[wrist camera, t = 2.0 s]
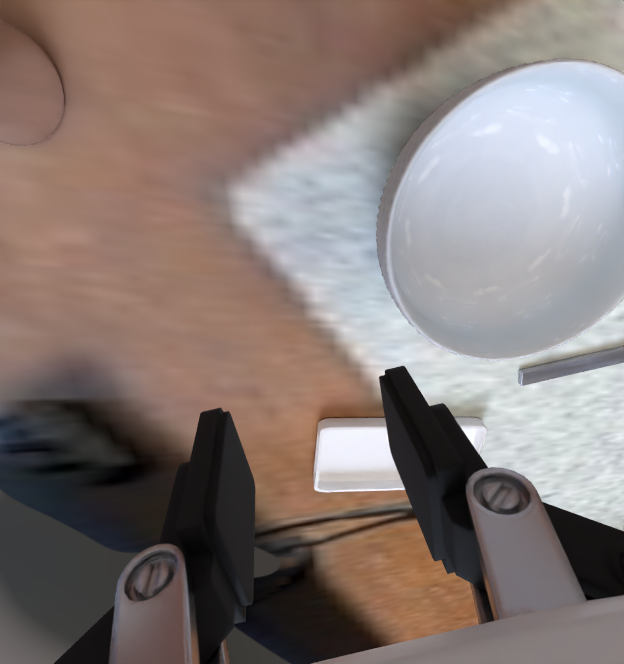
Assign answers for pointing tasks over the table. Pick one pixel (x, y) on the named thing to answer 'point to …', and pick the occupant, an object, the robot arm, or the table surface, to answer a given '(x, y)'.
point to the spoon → (571, 366)
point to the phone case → (366, 454)
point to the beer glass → (27, 90)
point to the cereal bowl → (510, 212)
